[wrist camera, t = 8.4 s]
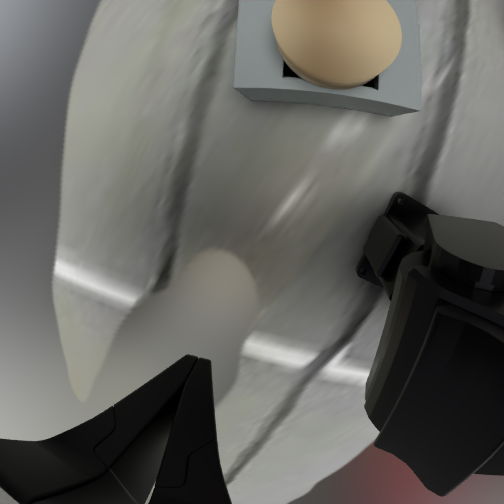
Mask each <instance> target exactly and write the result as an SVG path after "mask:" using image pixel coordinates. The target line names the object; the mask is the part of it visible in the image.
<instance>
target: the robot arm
mask: <svg viewBox="0 0 504 504" xmlns="http://www.w3.org/2000/svg"><path fill="white" fill-rule="evenodd" d="M399 197H402V198H403V201H402V202H401V203H398V198H399ZM363 249H364V252H365V253H364V254H363V256H362V258H361V260H360V262H359V263H358V265H357V267H356V272H357V275H358V276H359V277H360V278H363V279H365V280H367V281H370V282H372V283H374V284H376V285H379V286H381V287H383V288H384V289H385V291H386V293H387V295H388V297H389V300H390V301H391V304H390V307H389V311H388V315H387V319H386V322H385V326H384V330H383V333H382V336H381V340H380V343H379V346H378V350H377V353H376V356H375V359H374V362H373V365H372V368H371V371H370V374H369V376H368V379H367V382H366V391H365V400H366V402H365V405H364V408H365V410H366V412H367V415H368V417H369V419H370V420H371V422H372V423H373V424H374V426H375V427H376V428H377V429H378V430H379V431H380V433H379V435H378V436H377V438H376V440H375V441H374V446H375V447H377V448H379V449H382V450H384V451H387V452H389V453H392V454H393V455H395V456H396V457H398V458H399V459H401V460H402V461H403V462H405V463H406V464H407V465H408V466H409V467H410V468H411V469H412V470H413V471H414V473H415V474H416V476H417V477H418V478H419V479H420V481H421V482H422V483H423V484H424V486H425V487H426V488H427V489H428V490H430V491H432V492H434V493H435V494H437V495H439V496H446V495H448V494H449V493H450V492H452V491H453V490H454V489H456V488H457V487H458V486H459V485H461V484H462V483H463V482H464V481H465V480H467V479H468V478H469V477H470V476H471V475H472V474H484V475H504V226H502V225H499V224H497V223H494V222H488V221H481V220H474V219H467V218H459V217H451V216H443V215H439V214H437V213H436V212H434V211H433V210H431V209H429V208H428V207H426V206H424V205H423V204H421V203H419V202H418V201H416V200H414V199H413V198H411V197H409V196H407V195H406V194H404V193H402V192H397V193H395V194H394V196H393V198H392V200H391V202H390V204H389V206H388V208H387V210H386V212H385V214H384V215H382V216H380V217H379V219H378V221H377V222H376V224H375V226H374V228H373V230H372V232H371V234H370V236H369V238H368V240H367V242H366V244H365V246H364V248H363ZM363 268H366V271H365V272H360V271H361V269H363ZM155 481H156V483H155ZM154 483H155V488H154V490H153V493H152V496H151V499H150V502H149V503H148V504H232V502H231V499H230V496H229V493H228V490H227V487H226V483H225V480H224V477H223V473H222V469H221V464H220V458H219V452H218V442H217V433H216V421H215V409H214V397H213V382H212V366H211V360H209V359H205V358H198V357H197V356H193V355H189V354H188V355H185V356H184V357H182V358H181V359H179V360H178V361H177V362H175V363H174V364H173V365H171V366H170V367H169V368H167V369H165V370H164V371H163V372H161V373H160V374H158V375H157V376H155V377H154V378H153V379H151V380H150V381H148V382H147V383H145V384H144V385H143V386H141V387H140V388H138V389H137V390H135V391H134V392H132V393H131V394H129V395H128V396H126V397H125V398H123V399H122V400H120V401H119V402H117V403H116V404H114V407H113V406H111V407H110V408H108V409H107V410H105V411H104V412H102V413H100V414H99V415H97V416H95V417H94V418H92V419H90V420H88V421H86V422H84V423H82V424H80V425H78V426H76V427H74V428H72V429H70V430H67V431H65V432H63V433H61V434H58V435H56V436H54V437H51V438H49V439H46V440H41V441H21V440H9V439H0V504H145V502H146V500H147V498H148V495H149V494H150V492H151V490H152V487H153V485H154Z"/></svg>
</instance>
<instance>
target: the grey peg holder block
mask: <svg viewBox="0 0 504 504" xmlns="http://www.w3.org/2000/svg"><path fill="white" fill-rule="evenodd" d="M275 1H276V0H239V10H238V23H237V37H236V52H235V69H234V86H233V88H235V89H236V90H237V91H239V92H240V93H242V94H243V95H244V96H246V97H247V98H248V99H250V100H254V101H277V102H292V103H304V104H314V105H323V106H331V107H339V108H346V109H352V110H359V111H365V112H370V113H376V114H381V115H386V116H396V115H401V114H407V113H412V112H418V111H421V47H420V32H419V21H418V12H417V4H416V0H386V1H387V2H388V3H389V4H390V6H391V7H392V8H393V10H394V12H395V13H396V15H397V17H398V20H399V23H400V26H401V32H402V42H401V48H400V50H399V53H398V55H397V57H396V58H395V60H394V61H393V62H392V64H391V65H390V66H388V67H387V68H386V69H385V70H384V71H382V72H381V73H380V74H378V75H377V76H376V77H375V88H372V87H366V86H359V87H355V88H351V89H340V90H339V89H329V88H324V87H320V86H317V85H315V84H312V83H310V82H308V81H306V80H304V79H303V78H297V77H284V60H283V58H282V56H281V54H280V52H279V49H278V46H277V42H276V39H275V35H274V31H273V27H272V19H271V15H272V9H273V6H274V3H275Z"/></svg>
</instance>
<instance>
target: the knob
mask: <svg viewBox="0 0 504 504" xmlns="http://www.w3.org/2000/svg"><path fill="white" fill-rule="evenodd" d="M271 19H272V27H273V31H274V35H275V39H276V42H277V46H278V49H279V52H280V54H281V56H282V58H283V60H284V61H285V63H286V64H287V65H288V66H289V68H290V69H291V70H292V71H293V72H295V73H296V74H297V75H298V76H300V77H301V78H303V79H304V80H306V81H308V82H310V83H312V84H315V85H317V86H320V87H324V88H329V89H339V90H340V89H351V88H355V87H359V86H361V85H363V84H366V83H367V82H369V81H370V80H372V79H373V78H374V77H376V76H377V75H378V74H380V73H381V72H382V71H384V70H385V69H386V68H387V67H388V66H390V65H391V64H392V62H393V61H394V60H395V58H396V57H397V55H398V53H399V50H400V48H401V42H402V32H401V26H400V23H399V20H398V17H397V15H396V13H395V12H394V10H393V8H392V7H391V6H390V4H389V3H388V2H387V1H386V0H276V1H275V3H274V6H273V9H272V15H271Z"/></svg>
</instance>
